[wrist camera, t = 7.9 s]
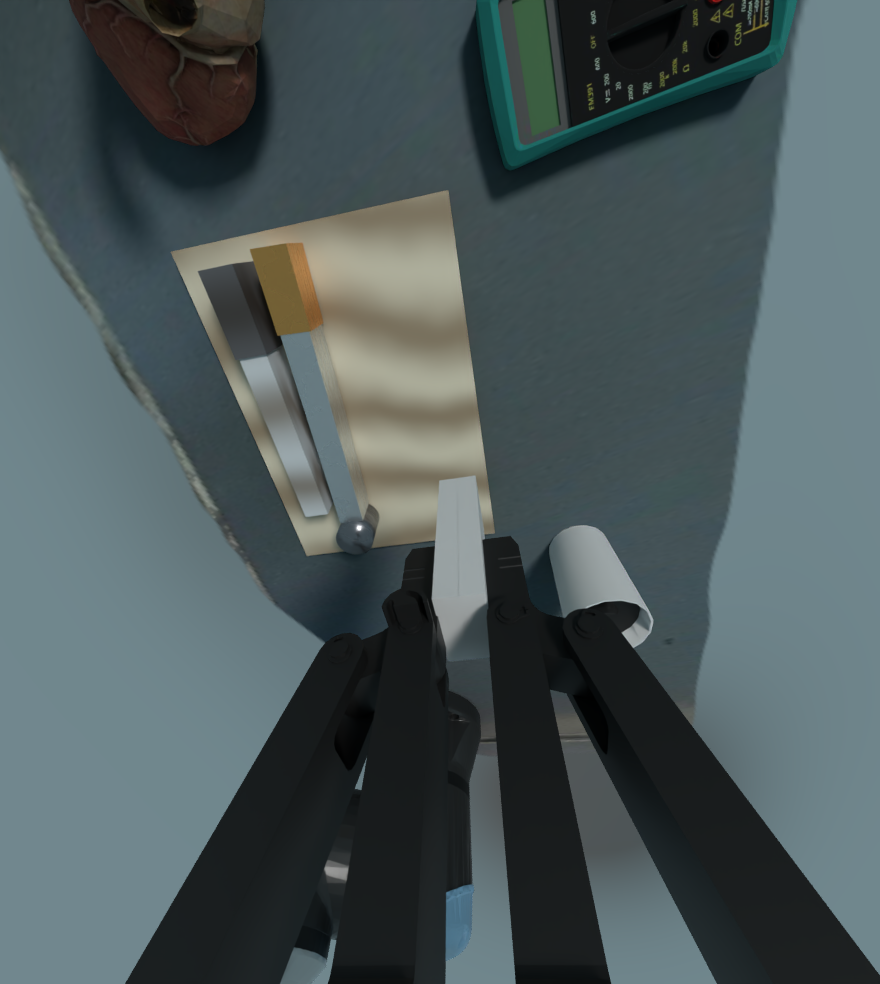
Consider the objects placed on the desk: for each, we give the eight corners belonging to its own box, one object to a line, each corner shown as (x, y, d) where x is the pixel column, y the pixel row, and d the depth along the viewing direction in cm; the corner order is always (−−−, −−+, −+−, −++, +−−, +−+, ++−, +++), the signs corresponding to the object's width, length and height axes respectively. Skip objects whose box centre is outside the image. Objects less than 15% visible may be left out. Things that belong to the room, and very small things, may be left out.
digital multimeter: (766, 73, 24) (804, 53, 21) (500, 176, 26) (506, 169, 24) (780, -136, 20) (829, -193, 17) (469, 10, 23) (471, -20, 20)
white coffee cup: (531, 544, 41) (550, 624, 33) (590, 509, 39) (628, 585, 30) (566, 582, 44) (593, 665, 35) (624, 552, 42) (668, 633, 33)
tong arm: (382, 528, 39) (376, 552, 36) (349, 531, 40) (341, 555, 37) (309, 241, 27) (290, 242, 24) (262, 249, 27) (238, 250, 24)
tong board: (494, 526, 40) (497, 555, 37) (309, 549, 43) (296, 578, 39) (448, 191, 26) (447, 184, 23) (179, 251, 29) (140, 253, 25)
